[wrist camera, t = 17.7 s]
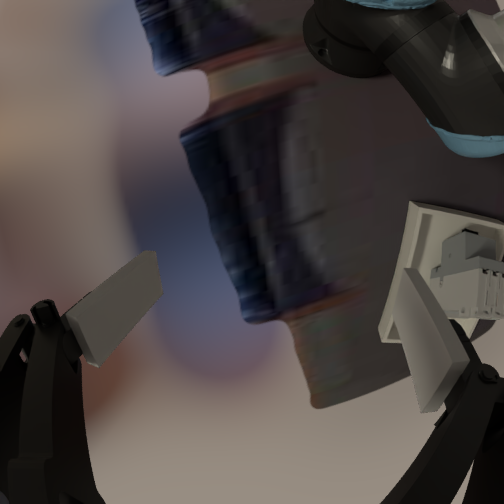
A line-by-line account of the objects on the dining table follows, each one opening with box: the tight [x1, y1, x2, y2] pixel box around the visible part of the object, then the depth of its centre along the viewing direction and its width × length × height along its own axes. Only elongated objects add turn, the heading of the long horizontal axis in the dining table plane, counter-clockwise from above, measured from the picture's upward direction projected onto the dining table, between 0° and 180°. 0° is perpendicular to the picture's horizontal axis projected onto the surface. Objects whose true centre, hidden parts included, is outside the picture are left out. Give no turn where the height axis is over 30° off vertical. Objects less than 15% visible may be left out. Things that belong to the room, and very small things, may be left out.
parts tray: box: [378, 201, 504, 343], centre depth 40 cm, size 26×22×4 cm
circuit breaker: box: [429, 228, 504, 320], centre depth 33 cm, size 8×14×15 cm
